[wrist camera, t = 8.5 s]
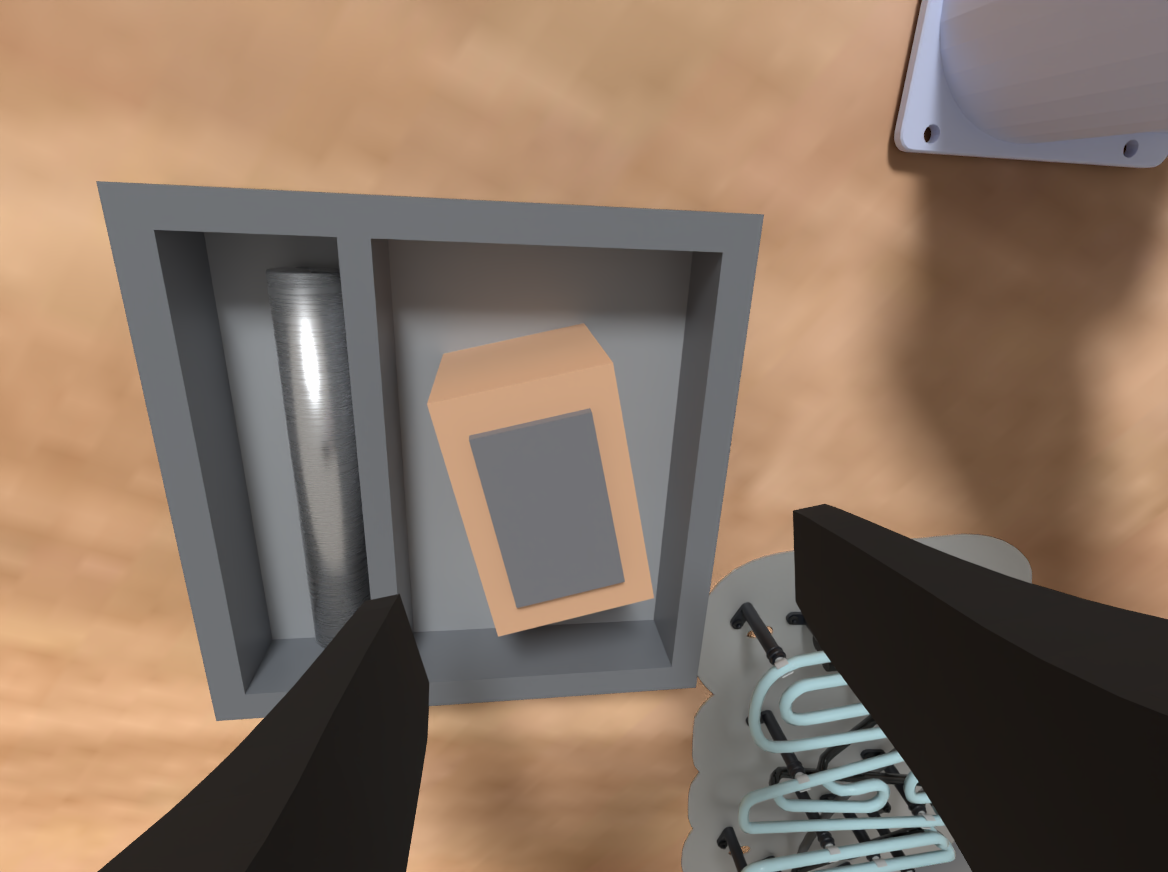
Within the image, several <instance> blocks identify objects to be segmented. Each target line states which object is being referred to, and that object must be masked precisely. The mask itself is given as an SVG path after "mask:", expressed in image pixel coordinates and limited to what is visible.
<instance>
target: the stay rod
mask: <svg viewBox="0 0 1168 872" xmlns="http://www.w3.org/2000/svg"><path fill="white" fill-rule="evenodd" d="M265 272H266V279H267V286H268V294H269V301H270V308H271V316H272V323H273V330H274V338H275V345H276V352H277V360H278V367H279V374H280V382H281V389H282V396H283V404H284V411H285V418H286V426H287V433H288V440H289V448H290V455H291V462H292V470H293V477H294V484H295V492H296V499H297V506H298V514H299V521H300V528H301V536H302V543H303V550H304V558H305V565H306V572H307V580H308V587H309V594H310V602H311V609H312V616H313V624H314V631H315V638H316V641H317V643H318V644H319V645H320V646H321V647H323V648H326V647H327V646H328V644H329V643H330V642H331V641H332V639H333V638H334V637H335V636H336V635H337V633H338V632H339V631H340V630H341V628H342V627H343V626H344V625H345V624H346V622H347V621H348V620H349V619H350V618H351V616H352V615H353V614H354V613H355V612H356V611H357V609H358V608H359V607H360V606H361V605H362V604H363V603H364V602H365V601H368V600H371V596H370V585H369V574H368V564H367V553H366V543H365V532H364V521H363V511H362V500H361V490H360V479H359V468H358V458H357V447H356V437H355V426H354V415H353V405H352V394H351V384H350V373H349V362H348V352H347V341H346V331H345V320H344V309H343V299H342V288H341V278H340V269H339V268H331V267H308V266H299V267H278V268H270V269H267V270H265Z"/></svg>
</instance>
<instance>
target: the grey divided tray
mask: <svg viewBox="0 0 1168 872" xmlns="http://www.w3.org/2000/svg"><path fill="white" fill-rule="evenodd" d="M96 182H97V186H98V191H99V195H100V200H101V204H102V209H103V213H104V218H105V222H106V227H107V231H108V236H109V240H110V245H111V249H112V254H113V258H114V263H115V267H116V272H117V276H118V281H119V285H120V290H121V294H122V299H123V303H124V308H125V312H126V317H127V321H128V326H129V330H130V335H131V339H132V344H133V348H134V353H135V357H136V362H137V366H138V371H139V375H140V380H141V384H142V389H143V393H144V398H145V402H146V407H147V411H148V416H149V420H150V425H151V429H152V434H153V438H154V443H155V447H156V452H157V456H158V461H159V465H160V470H161V474H162V479H163V483H164V488H165V492H166V497H167V501H168V506H169V510H170V515H171V519H172V524H173V528H174V533H175V537H176V542H177V546H178V551H179V555H180V560H181V564H182V569H183V573H184V578H185V582H186V587H187V591H188V596H189V600H190V604H191V609H192V613H193V618H194V622H195V627H196V631H197V636H198V640H199V645H200V649H201V654H202V658H203V663H204V667H205V672H206V676H207V681H208V685H209V690H210V694H211V699H212V703H213V708H214V712H215V717H216V721H222V720H236V719H251V718H265V717H266V715H267V714H268V713H269V712H270V711H271V710H272V709H273V708H274V707H275V706H276V705H277V704H278V702H279V701H280V700H281V699H282V698H283V697H284V696H285V695H286V694H287V693H288V692H289V690H290V689H291V688H292V687H293V686H294V685H295V684H296V682H297V681H298V680H299V679H300V678H301V676H302V675H303V674H304V673H305V672H306V671H307V669H308V668H309V667H310V666H311V665H312V663H313V662H314V661H315V660H316V659H317V658H318V656H319V655H320V654H321V653H322V652H323V650H324V649H325V648H323V647H321V646H320V645H319V644H318V643H317V641H316V638H315V631H314V624H313V616H312V609H311V602H310V594H309V587H308V580H307V572H306V565H305V558H304V550H303V543H302V536H301V528H300V521H299V514H298V506H297V499H296V492H295V484H294V477H293V470H292V462H291V455H290V448H289V440H288V433H287V426H286V418H285V411H284V404H283V396H282V389H281V382H280V374H279V367H278V360H277V352H276V345H275V338H274V330H273V323H272V316H271V308H270V301H269V294H268V286H267V279H266V272H265V270H267V269H270V268H278V267H299V266H308V267H331V268H339V269H340V278H341V288H342V299H343V309H344V320H345V331H346V341H347V352H348V362H349V373H350V384H351V394H352V405H353V415H354V426H355V437H356V447H357V458H358V468H359V479H360V490H361V500H362V511H363V521H364V532H365V543H366V553H367V564H368V574H369V585H370V596H371V600H372V599H377V598H382V597H387V596H391V595H396V594H400V596H401V599H402V602H403V605H404V608H405V611H406V614H407V617H408V620H409V623H410V626H411V629H412V632H413V635H414V638H415V641H416V644H417V647H418V650H419V653H420V656H421V659H422V662H423V665H424V668H425V671H426V674H427V677H428V680H429V706H438V705H452V704H466V703H481V702H495V701H510V700H524V699H538V698H553V697H567V696H581V695H596V694H610V693H625V692H639V691H653V690H668V689H682V688H696V682H697V675H698V669H699V662H700V655H701V648H702V641H703V634H704V627H705V620H706V613H707V606H708V599H709V592H710V585H711V578H712V571H713V564H714V557H715V550H716V544H717V537H718V530H719V523H720V516H721V509H722V502H723V495H724V488H725V481H726V474H727V467H728V460H729V453H730V446H731V439H732V432H733V425H734V418H735V412H736V405H737V398H738V391H739V384H740V377H741V370H742V363H743V356H744V349H745V342H746V335H747V328H748V321H749V314H750V307H751V300H752V293H753V286H754V280H755V273H756V266H757V259H758V252H759V245H760V238H761V231H762V224H763V217H764V215H761V214H744V213H726V212H706V211H686V210H666V209H646V208H626V207H606V206H586V205H566V204H546V203H526V202H506V201H486V200H466V199H446V198H426V197H406V196H386V195H366V194H346V193H326V192H306V191H286V190H266V189H246V188H226V187H206V186H186V185H166V184H144V183H122V182H99V181H96ZM582 323H584V324H585V325H586V326H587V328H588V329H589V331H590V332H591V333H592V335H593V336H594V337H595V339H596V340H597V341H598V343H599V344H600V345H601V347H602V348H603V350H604V351H605V352H606V354H607V355H608V356H609V358H610V359H611V360H612V362H613V365H614V371H615V376H616V382H617V388H618V394H619V399H620V405H621V411H622V417H623V422H624V428H625V434H626V439H627V445H628V451H629V457H630V462H631V468H632V474H633V480H634V485H635V491H636V497H637V502H638V508H639V514H640V520H641V525H642V531H643V537H644V543H645V548H646V554H647V560H648V565H649V571H650V577H651V583H652V588H653V594H654V598H653V599H648V600H644V601H640V602H636V603H632V604H628V605H624V606H620V607H616V608H612V609H608V610H604V611H600V612H596V613H592V614H588V615H584V616H580V617H576V618H572V619H568V620H564V621H559V622H555V623H551V624H547V625H543V626H539V627H535V628H531V629H527V630H523V631H519V632H515V633H511V634H507V635H503V636H499V637H498V635H497V631H496V628H495V625H494V622H493V618H492V615H491V612H490V608H489V605H488V602H487V599H486V595H485V592H484V589H483V586H482V582H481V579H480V576H479V573H478V569H477V566H476V563H475V560H474V556H473V553H472V550H471V546H470V543H469V540H468V537H467V533H466V530H465V527H464V524H463V520H462V517H461V514H460V511H459V507H458V504H457V501H456V497H455V494H454V491H453V488H452V484H451V481H450V478H449V475H448V471H447V468H446V465H445V462H444V458H443V455H442V452H441V449H440V445H439V442H438V439H437V435H436V432H435V429H434V426H433V422H432V419H431V416H430V413H429V409H428V406H427V402H428V399H429V396H430V393H431V390H432V387H433V384H434V380H435V377H436V374H437V371H438V368H439V365H440V362H441V359H442V356H443V354H445V353H449V352H454V351H458V350H463V349H468V348H472V347H477V346H481V345H486V344H491V343H495V342H500V341H504V340H509V339H514V338H518V337H523V336H527V335H532V334H536V333H541V332H546V331H550V330H555V329H559V328H564V327H569V326H573V325H578V324H582Z"/></svg>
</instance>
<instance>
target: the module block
mask: <svg viewBox="0 0 1168 872" xmlns="http://www.w3.org/2000/svg"><path fill="white" fill-rule="evenodd" d="M427 406H428V409H429V413H430V416H431V419H432V422H433V426H434V429H435V432H436V435H437V439H438V442H439V445H440V449H441V452H442V455H443V458H444V462H445V465H446V468H447V471H448V475H449V478H450V481H451V484H452V488H453V491H454V494H455V497H456V501H457V504H458V507H459V511H460V514H461V517H462V520H463V524H464V527H465V530H466V533H467V537H468V540H469V543H470V546H471V550H472V553H473V556H474V560H475V563H476V566H477V569H478V573H479V576H480V579H481V582H482V586H483V589H484V592H485V595H486V599H487V602H488V605H489V608H490V612H491V615H492V618H493V622H494V625H495V628H496V631H497V635H498V637H499V636H503V635H507V634H511V633H515V632H519V631H523V630H527V629H531V628H535V627H539V626H543V625H547V624H551V623H555V622H559V621H564V620H568V619H572V618H576V617H580V616H584V615H588V614H592V613H596V612H600V611H604V610H608V609H612V608H616V607H620V606H624V605H628V604H632V603H636V602H640V601H644V600H648V599H653V598H654V594H653V588H652V583H651V577H650V571H649V565H648V560H647V554H646V548H645V543H644V537H643V531H642V525H641V520H640V514H639V508H638V502H637V497H636V491H635V485H634V480H633V474H632V468H631V462H630V457H629V451H628V445H627V439H626V434H625V428H624V422H623V417H622V411H621V405H620V399H619V394H618V388H617V382H616V376H615V371H614V365H613V362H612V360H611V359H610V358H609V356H608V355H607V354H606V352H605V351H604V350H603V348H602V347H601V345H600V344H599V343H598V341H597V340H596V339H595V337H594V336H593V335H592V333H591V332H590V331H589V329H588V328H587V326H586V325H585V324H584V323H582V324H578V325H573V326H569V327H564V328H559V329H555V330H550V331H546V332H541V333H536V334H532V335H527V336H523V337H518V338H514V339H509V340H504V341H500V342H495V343H491V344H486V345H481V346H477V347H472V348H468V349H463V350H458V351H454V352H449V353H445V354H443V356H442V359H441V362H440V365H439V368H438V371H437V374H436V377H435V380H434V384H433V387H432V390H431V393H430V396H429V399H428V402H427Z"/></svg>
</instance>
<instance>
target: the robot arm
mask: <svg viewBox="0 0 1168 872" xmlns="http://www.w3.org/2000/svg"><path fill="white" fill-rule="evenodd" d="M927 127H929V128H930V130H931V137H930V140H929V141H928V142H927V143H926V142H925V140H924V132H925V130H926V128H927ZM894 141H895V144H896V146H897V147H898V149H899V150H901V151H904V152H912V153H927V154H941V155H956V156H971V157H985V158H1000V159H1015V160H1029V161H1044V162H1059V163H1073V164H1088V165H1102V166H1117V167H1132V168H1151V167H1156V166H1158V165H1159V164H1161V163H1162V162H1163V161H1164V160H1165V159H1166V157H1167V155H1168V0H922V2H921V7H920V12H919V17H918V22H917V27H916V31H915V36H914V41H913V46H912V51H911V56H910V60H909V65H908V70H907V75H906V80H905V85H904V89H903V94H902V99H901V104H900V109H899V114H898V118H897V123H896V128H895V133H894ZM1125 145H1127V146H1126V151H1125V153H1124V154H1123V149H1124V146H1125ZM793 527H794V565H795V602H796V603H797V605H798V607H799V609H800V611H801V613H802V615H803V616H804V618H805V620H806V622H807V624H808V626H809V628H810V629H811V631H812V633H813V635H814V636H815V638H816V640H817V642H818V643H819V645H820V647H821V649H822V650H823V651H824V653H825V654H826V656H827V657H828V658H829V660H830V661H831V663H832V664H833V665H834V667H835V668H836V669H837V671H838V672H839V673H840V675H841V676H842V678H843V679H844V680H845V682H846V683H847V684H848V686H849V687H850V688H851V690H852V691H853V692H854V694H855V695H856V697H857V698H858V699H859V701H860V702H861V703H862V705H863V706H864V707H865V709H866V710H867V711H868V713H869V714H870V715H871V717H872V718H873V719H874V721H875V722H876V723H877V725H878V726H879V727H880V729H881V730H882V731H883V733H884V734H885V735H886V737H887V738H888V740H889V741H890V742H891V744H892V745H893V746H894V748H895V749H896V750H897V752H898V753H899V754H900V756H901V757H902V758H903V760H904V761H905V763H906V764H907V766H908V767H909V769H910V770H911V772H912V773H913V774H914V776H915V777H916V779H917V780H918V782H919V783H920V785H921V786H922V788H923V790H924V791H925V793H926V795H927V796H928V798H929V800H930V801H931V803H932V805H933V806H934V808H935V809H936V811H937V813H938V814H939V816H940V818H941V819H942V821H943V823H944V824H945V826H946V828H947V829H948V831H949V832H950V834H951V836H952V837H953V839H954V841H955V842H956V844H957V846H958V847H959V849H960V851H961V853H962V854H963V856H964V858H965V859H966V861H967V863H968V865H969V866H970V868H971V870H972V872H1168V619H1164V618H1159V617H1155V616H1151V615H1147V614H1142V613H1138V612H1134V611H1129V610H1125V609H1121V608H1117V607H1113V606H1109V605H1105V604H1101V603H1097V602H1093V601H1090V600H1086V599H1082V598H1079V597H1076V596H1072V595H1069V594H1065V593H1062V592H1059V591H1055V590H1052V589H1048V588H1045V587H1042V586H1038V585H1035V584H1032V583H1028V582H1025V581H1022V580H1019V579H1016V578H1013V577H1010V576H1007V575H1004V574H1001V573H999V572H996V571H993V570H990V569H988V568H985V567H982V566H979V565H976V564H974V563H971V562H968V561H965V560H963V559H960V558H958V557H955V556H952V555H950V554H947V553H945V552H942V551H940V550H937V549H935V548H932V547H930V546H927V545H925V544H922V543H920V542H917V541H915V540H913V539H910V538H908V537H905V536H903V535H901V534H898V533H896V532H894V531H891V530H889V529H887V528H884V527H882V526H879V525H877V524H875V523H872V522H870V521H868V520H865V519H863V518H861V517H858V516H856V515H853V514H851V513H848V512H846V511H843V510H841V509H838V508H836V507H833V506H830V505H827V504H822V505H818V506H813V507H808V508H803V509H799V510H794V511H793ZM428 715H429V680H428V677H427V674H426V671H425V668H424V665H423V662H422V659H421V656H420V653H419V650H418V647H417V644H416V641H415V638H414V635H413V632H412V629H411V626H410V623H409V620H408V617H407V614H406V611H405V608H404V605H403V602H402V599H401V596H400V594H396V595H391V596H387V597H382V598H377V599H372V600H368V601H365V602H364V603H363V604H362V605H361V606H360V607H359V608H358V609H357V611H356V612H355V613H354V614H353V615H352V616H351V618H350V619H349V620H348V621H347V622H346V624H345V625H344V626H343V627H342V628H341V630H340V631H339V632H338V633H337V635H336V636H335V637H334V638H333V639H332V641H331V642H330V643H329V644H328V646H327V647H326V648H325V649H324V650H323V652H322V653H321V654H320V655H319V656H318V658H317V659H316V660H315V661H314V662H313V663H312V665H311V666H310V667H309V668H308V669H307V671H306V672H305V673H304V674H303V675H302V676H301V678H300V679H299V680H298V681H297V682H296V684H295V685H294V686H293V687H292V688H291V689H290V690H289V692H288V693H287V694H286V695H285V696H284V697H283V698H282V699H281V700H280V701H279V702H278V704H277V705H276V706H275V707H274V708H273V709H272V710H271V711H270V712H269V713H268V714H267V715H266V717H265V718H264V719H263V720H262V721H261V722H260V723H259V724H258V725H257V726H256V727H255V729H254V730H253V731H252V732H251V733H250V734H249V735H248V736H247V737H246V738H245V739H244V740H243V741H242V742H241V743H240V745H239V746H238V747H237V748H236V749H235V750H234V751H233V752H232V753H231V754H230V755H229V756H228V757H227V758H226V759H225V760H224V761H223V762H222V763H221V764H220V765H218V766H217V767H216V768H215V769H214V770H213V771H212V772H211V773H210V774H209V775H208V776H207V777H206V778H205V779H204V780H203V781H202V782H201V783H199V784H198V785H197V786H196V787H195V788H194V789H193V790H192V791H191V792H190V793H189V794H188V795H187V796H186V797H185V798H183V799H182V800H181V801H180V802H179V803H178V804H177V805H176V806H175V807H173V808H172V809H171V810H170V811H169V812H168V813H167V814H165V815H164V816H163V817H162V818H161V819H160V820H158V821H157V822H156V823H155V824H154V825H152V826H151V827H150V828H149V829H148V830H147V831H145V832H144V833H143V834H142V835H141V836H139V837H138V838H137V839H136V840H135V841H134V842H132V843H131V844H130V845H129V846H128V847H126V848H125V849H124V850H123V851H122V852H120V853H119V854H118V855H117V856H116V857H115V858H113V859H112V860H111V861H110V862H109V863H107V864H106V865H105V866H104V867H103V868H102V869H100V870H99V871H98V872H406V868H407V862H408V856H409V850H410V844H411V838H412V832H413V826H414V820H415V814H416V808H417V802H418V795H419V789H420V783H421V777H422V770H423V764H424V758H425V751H426V745H427V736H428Z"/></svg>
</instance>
